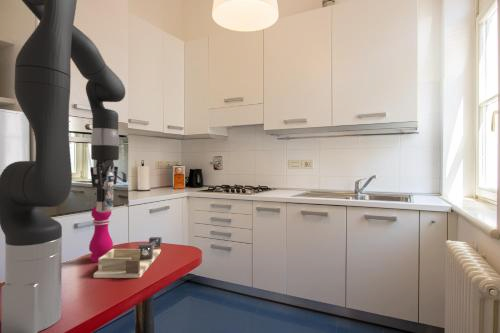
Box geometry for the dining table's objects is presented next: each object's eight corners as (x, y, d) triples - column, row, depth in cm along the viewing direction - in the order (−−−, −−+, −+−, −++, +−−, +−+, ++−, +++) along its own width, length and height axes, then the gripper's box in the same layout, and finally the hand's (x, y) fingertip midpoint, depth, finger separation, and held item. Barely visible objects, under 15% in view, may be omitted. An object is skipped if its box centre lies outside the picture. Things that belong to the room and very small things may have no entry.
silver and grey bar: (150, 258, 93) (150, 248, 93) (137, 258, 92) (138, 248, 92) (161, 245, 107) (161, 237, 107) (150, 245, 106) (150, 237, 106)
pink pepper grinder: (84, 259, 95) (85, 200, 95) (106, 254, 101) (106, 198, 101) (95, 264, 91) (96, 202, 91) (117, 258, 97) (117, 200, 97)
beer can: (106, 213, 84) (106, 172, 84) (92, 212, 85) (92, 172, 84) (116, 210, 88) (117, 171, 88) (103, 209, 89) (103, 171, 89)
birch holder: (140, 277, 82) (140, 257, 82) (93, 277, 81) (93, 257, 81) (160, 252, 105) (161, 236, 105) (124, 252, 104) (124, 236, 104)
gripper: (108, 143, 79) (107, 204, 80) (126, 145, 94) (126, 197, 94) (80, 142, 79) (79, 203, 79) (103, 145, 93) (102, 197, 93)
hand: (105, 200), depth 87 cm, fingers closed on beer can, 4 cm apart
